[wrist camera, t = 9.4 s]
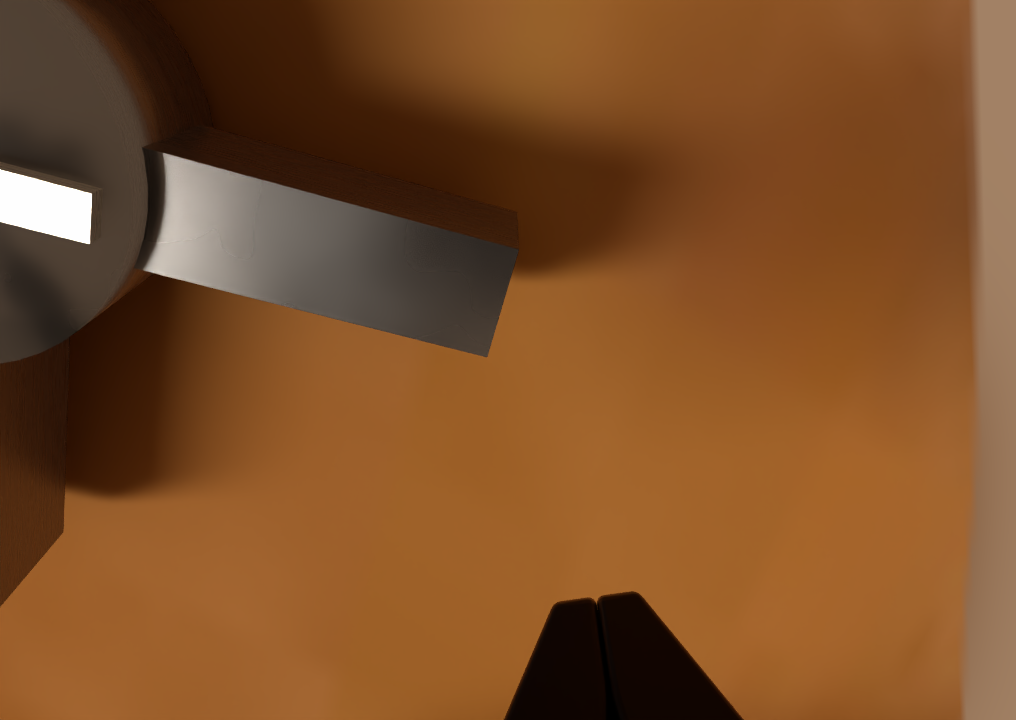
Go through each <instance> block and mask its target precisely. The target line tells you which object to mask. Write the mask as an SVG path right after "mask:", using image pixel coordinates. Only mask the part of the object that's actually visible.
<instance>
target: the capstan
mask: <svg viewBox="0 0 1016 720" xmlns="http://www.w3.org/2000/svg"><path fill="white" fill-rule="evenodd" d="M518 251H519V240H518V219H517V212H515V211H511V210H508V209H504V208H500V207H497V206H493V205H490V204H486V203H482V202H479V201H475V200H472V199H468V198H464V197H461V196H457V195H454V194H450V193H446V192H443V191H439V190H435V189H432V188H428V187H425V186H421V185H417V184H414V183H410V182H407V181H403V180H399V179H396V178H392V177H389V176H385V175H381V174H378V173H374V172H370V171H367V170H363V169H360V168H356V167H352V166H349V165H345V164H342V163H338V162H334V161H331V160H327V159H324V158H320V157H316V156H313V155H309V154H306V153H302V152H298V151H295V150H291V149H287V148H284V147H280V146H277V145H273V144H269V143H266V142H262V141H259V140H255V139H251V138H248V137H244V136H241V135H237V134H233V133H230V132H226V131H222V130H219V129H215V128H213V124H212V119H211V114H210V110H209V105H208V102H207V99H206V96H205V93H204V90H203V87H202V84H201V81H200V79H199V77H198V74H197V72H196V70H195V68H194V66H193V64H192V62H191V60H190V58H189V55H188V54H187V52H186V51H185V49H184V47H183V46H182V44H181V42H180V41H179V39H178V38H177V36H176V34H175V33H174V31H173V30H172V29H171V27H170V26H169V25H168V23H167V22H166V21H165V20H164V18H163V17H162V16H161V14H160V13H159V12H158V11H157V9H156V8H155V7H154V6H153V5H152V4H151V3H150V2H149V1H148V0H0V606H1V605H2V604H3V603H4V602H5V601H6V599H7V598H8V597H9V596H10V595H11V593H12V592H13V591H14V590H15V589H16V588H17V586H18V585H19V584H20V583H21V582H22V580H23V579H24V578H25V577H26V576H27V575H28V573H29V572H30V571H31V570H32V569H33V567H34V566H35V565H36V564H37V563H38V562H39V560H40V559H41V558H42V557H43V556H44V554H45V553H46V552H47V551H48V550H49V548H50V547H51V546H52V545H53V544H54V543H55V541H56V540H57V539H58V538H59V537H60V535H61V534H62V533H63V530H64V500H65V470H66V440H67V410H68V380H69V350H70V336H71V335H73V334H74V333H75V332H77V331H78V330H80V329H81V328H82V327H84V326H85V325H86V324H88V323H89V322H90V321H92V320H93V319H94V318H96V317H97V316H98V315H100V314H101V313H102V312H104V311H105V310H106V309H107V308H109V307H110V306H111V305H113V304H114V303H115V302H117V301H118V300H119V299H121V298H122V297H123V296H125V295H126V294H127V293H129V292H130V291H131V290H133V289H134V288H135V287H137V286H138V285H139V284H141V283H142V282H143V281H145V280H146V279H147V278H149V277H150V276H151V275H153V274H154V273H155V274H159V275H163V276H167V277H171V278H175V279H179V280H183V281H187V282H191V283H195V284H199V285H203V286H207V287H211V288H215V289H219V290H223V291H227V292H231V293H234V294H238V295H242V296H246V297H250V298H254V299H258V300H262V301H266V302H270V303H274V304H278V305H282V306H286V307H290V308H294V309H298V310H302V311H306V312H310V313H314V314H318V315H322V316H326V317H330V318H334V319H337V320H341V321H345V322H349V323H353V324H357V325H361V326H365V327H369V328H373V329H377V330H381V331H385V332H389V333H393V334H397V335H401V336H405V337H409V338H413V339H417V340H421V341H425V342H429V343H433V344H437V345H440V346H444V347H448V348H452V349H456V350H460V351H464V352H468V353H472V354H476V355H480V356H484V357H487V356H488V353H489V349H490V346H491V342H492V339H493V336H494V332H495V329H496V325H497V322H498V319H499V315H500V312H501V309H502V305H503V302H504V298H505V295H506V292H507V288H508V285H509V282H510V278H511V275H512V271H513V268H514V265H515V261H516V258H517V255H518Z"/></svg>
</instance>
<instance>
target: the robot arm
mask: <svg viewBox="0 0 1016 720" xmlns="http://www.w3.org/2000/svg"><path fill="white" fill-rule="evenodd" d="M597 608H598V609H597ZM504 720H743V718H742V717H741V716H740V715H739V713H738V712H737V711H736V710H735V709H734V707H733V706H732V705H731V704H730V703H729V701H728V700H727V699H726V698H725V696H724V695H723V694H722V693H721V692H720V690H719V689H718V688H717V687H716V686H715V684H714V683H713V682H712V681H711V679H710V678H709V677H708V676H707V675H706V673H705V672H704V671H703V670H702V668H701V667H700V666H699V665H698V664H697V662H696V661H695V660H694V659H693V658H692V656H691V655H690V654H689V653H688V651H687V650H686V649H685V648H684V647H683V645H682V644H681V643H680V642H679V641H678V639H677V638H676V637H675V636H674V634H673V633H672V632H671V631H670V630H669V628H668V627H667V626H666V625H665V624H664V622H663V621H662V620H661V619H660V617H659V616H658V615H657V614H656V613H655V611H654V610H653V609H652V608H651V607H650V605H649V604H648V603H647V602H646V600H645V599H644V598H643V597H642V596H641V595H640V594H639V593H637V592H634V591H631V592H624V593H617V594H610V595H603V596H601V597H600V598H598V601H597V604H596V602H595V601H594V599H592V598H581V599H574V600H567V601H560V602H557V603H556V604H554V605H553V607H552V609H551V611H550V613H549V615H548V618H547V620H546V622H545V625H544V627H543V629H542V632H541V634H540V636H539V639H538V641H537V643H536V646H535V648H534V650H533V653H532V655H531V657H530V660H529V662H528V665H527V667H526V669H525V672H524V674H523V676H522V679H521V681H520V683H519V686H518V688H517V690H516V693H515V695H514V697H513V700H512V702H511V704H510V707H509V709H508V711H507V714H506V716H505V718H504Z"/></svg>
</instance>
